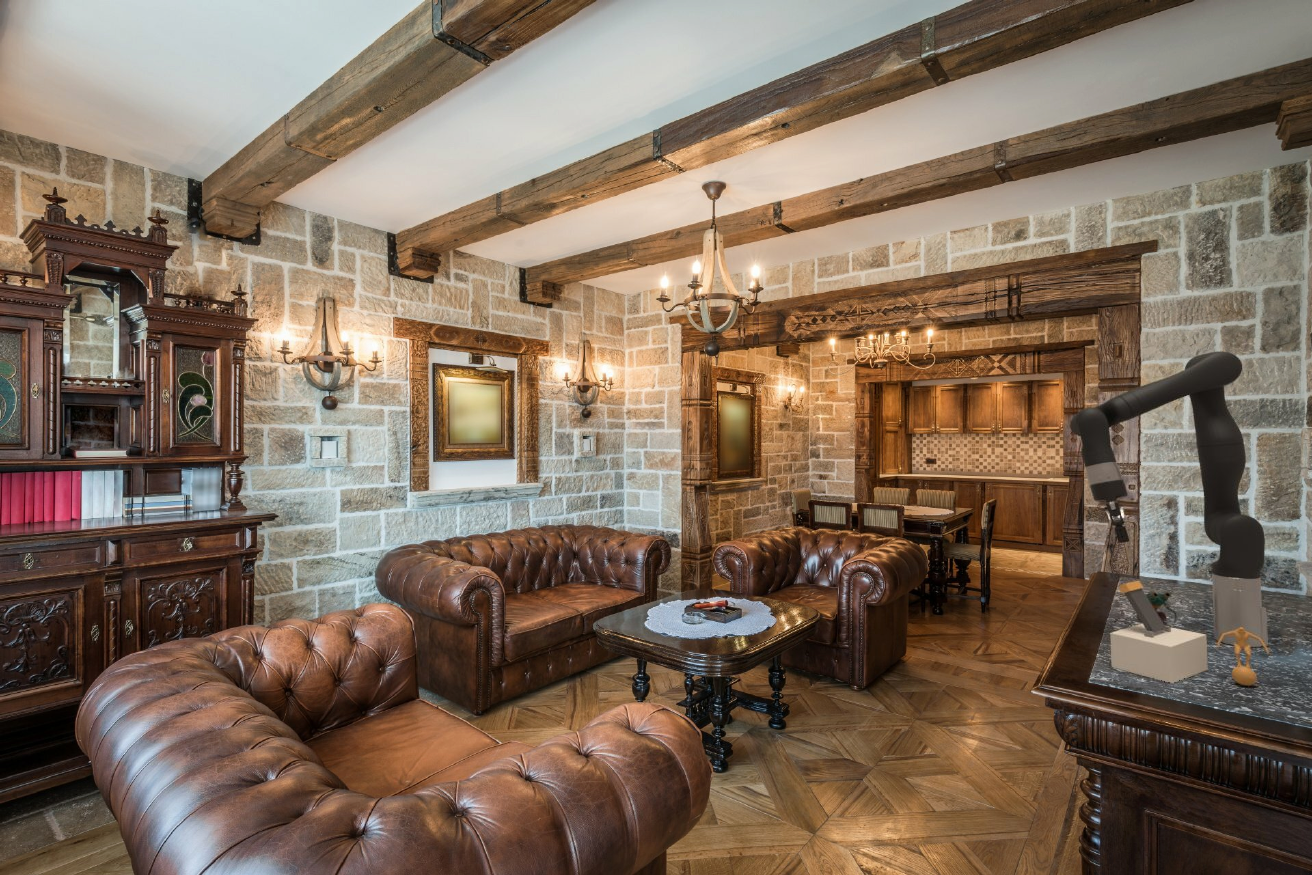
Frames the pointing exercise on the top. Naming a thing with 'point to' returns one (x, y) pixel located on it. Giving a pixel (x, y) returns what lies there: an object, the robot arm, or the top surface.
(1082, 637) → the top surface
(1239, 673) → the figurine
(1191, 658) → the breaker housing
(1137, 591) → the handle
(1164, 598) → the binoculars
